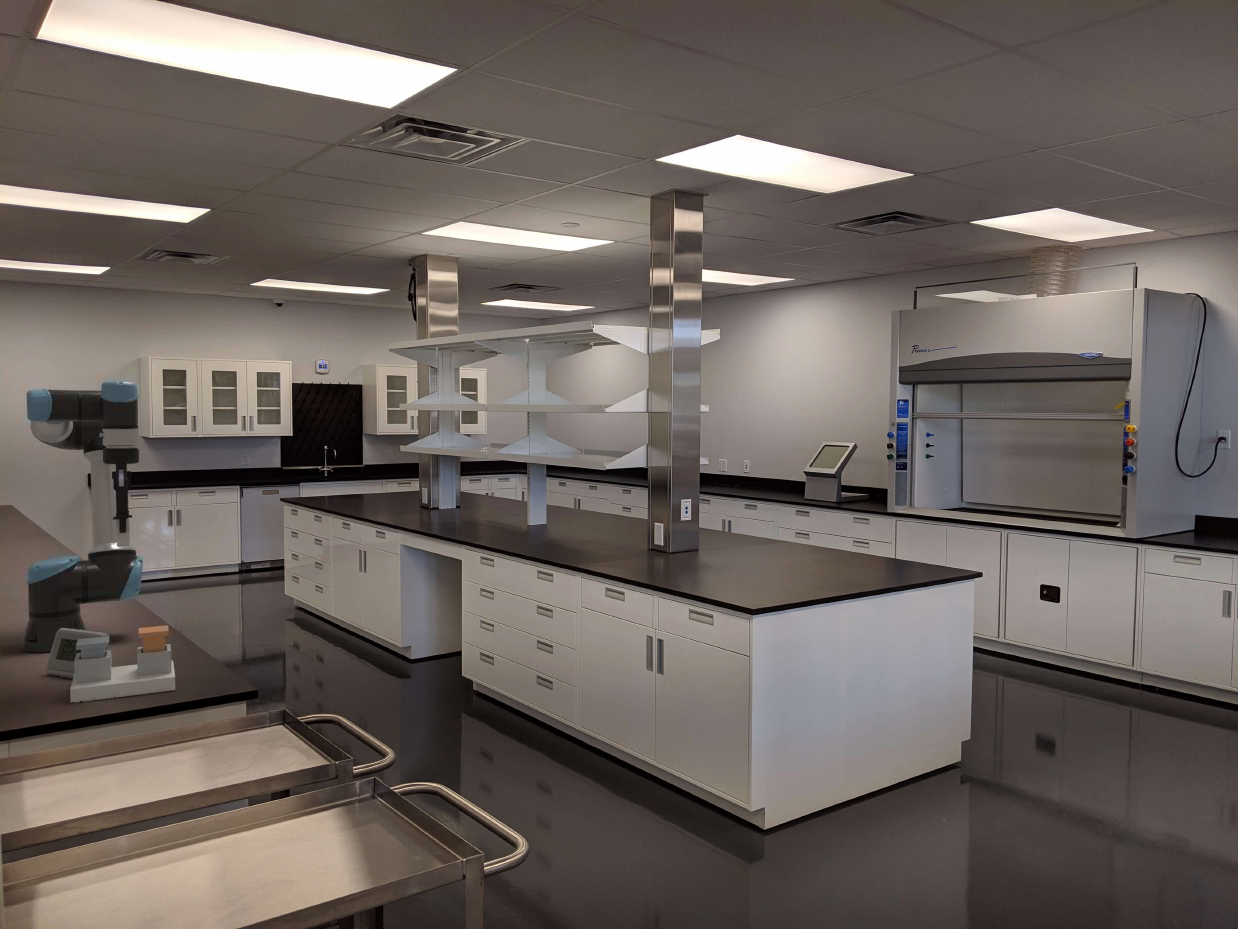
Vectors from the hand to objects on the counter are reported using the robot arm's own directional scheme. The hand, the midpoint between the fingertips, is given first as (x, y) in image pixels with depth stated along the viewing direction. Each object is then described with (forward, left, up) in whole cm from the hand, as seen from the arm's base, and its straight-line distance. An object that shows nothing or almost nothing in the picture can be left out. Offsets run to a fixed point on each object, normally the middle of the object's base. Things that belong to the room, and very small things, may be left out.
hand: (123, 546), depth 213 cm
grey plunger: (+14, -6, -27) cm, 31 cm away
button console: (+14, 0, -30) cm, 33 cm away
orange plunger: (+14, +6, -26) cm, 30 cm away
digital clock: (-1, -10, -31) cm, 32 cm away
